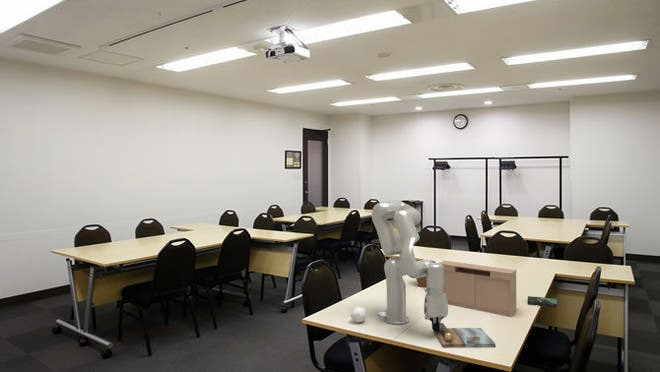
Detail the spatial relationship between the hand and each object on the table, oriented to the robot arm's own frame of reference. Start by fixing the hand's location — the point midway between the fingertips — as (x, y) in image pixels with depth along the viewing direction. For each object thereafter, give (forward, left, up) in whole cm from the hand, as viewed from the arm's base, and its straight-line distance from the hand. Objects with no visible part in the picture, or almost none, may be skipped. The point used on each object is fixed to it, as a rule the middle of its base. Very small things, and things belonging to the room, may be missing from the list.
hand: (435, 331), depth 188 cm
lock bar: (+3, -4, -1) cm, 5 cm away
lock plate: (+11, -3, -2) cm, 12 cm away
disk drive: (+70, +45, -3) cm, 83 cm away
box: (+31, +40, -3) cm, 51 cm away
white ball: (-34, +19, -3) cm, 39 cm away
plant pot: (+12, +84, -3) cm, 85 cm away
